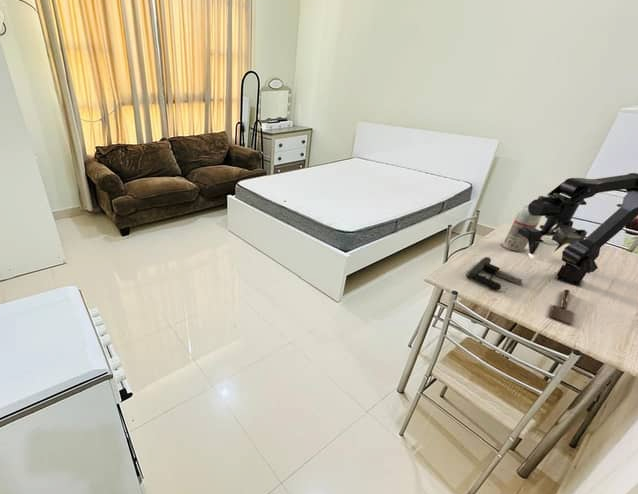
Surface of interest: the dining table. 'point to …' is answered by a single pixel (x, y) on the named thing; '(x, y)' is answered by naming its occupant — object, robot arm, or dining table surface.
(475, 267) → the door handle
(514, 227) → the spray can
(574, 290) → the dining table surface
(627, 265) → the dining table surface
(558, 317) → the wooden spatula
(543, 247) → the white cup
